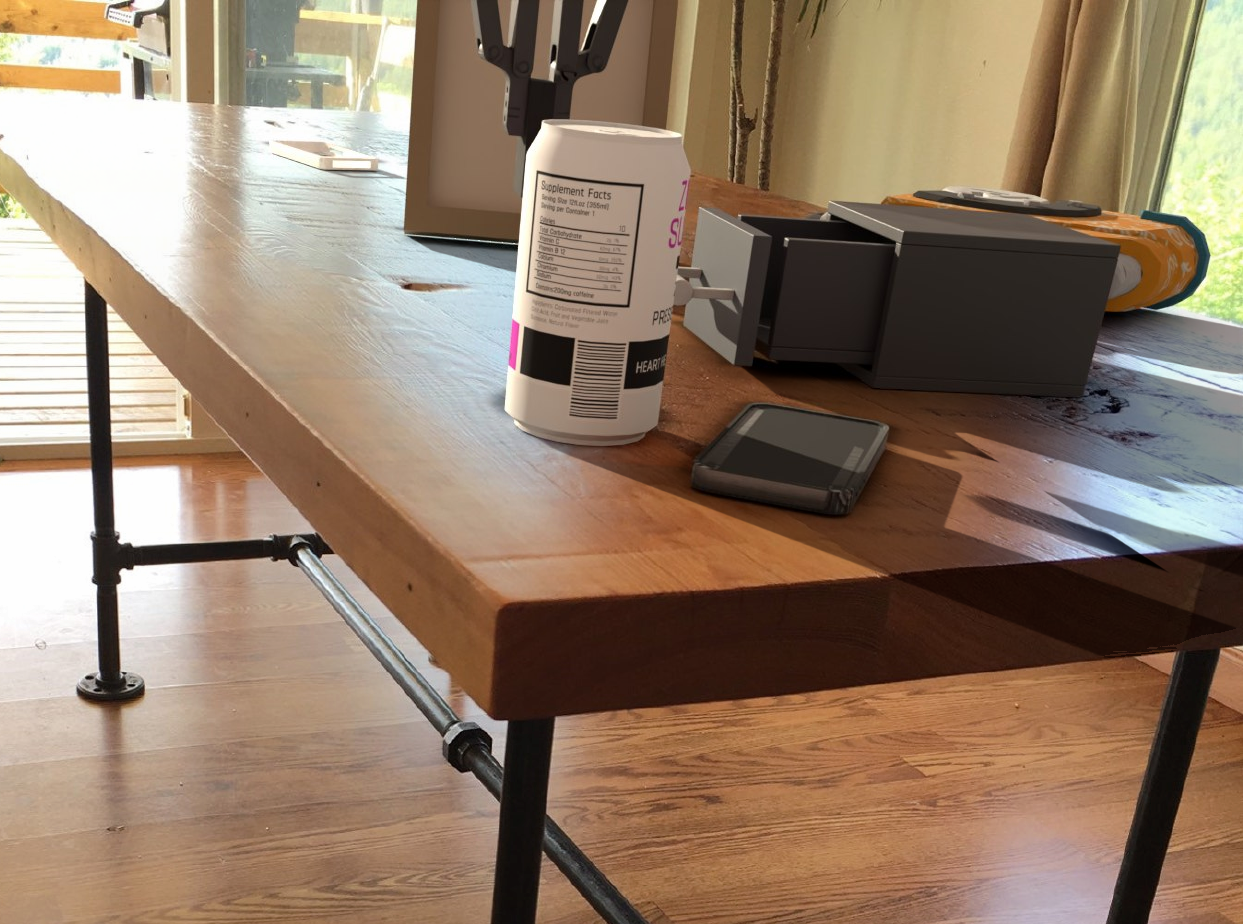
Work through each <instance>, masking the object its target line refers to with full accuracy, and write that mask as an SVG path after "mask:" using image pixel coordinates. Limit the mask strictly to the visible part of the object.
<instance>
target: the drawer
mask: <svg viewBox="0 0 1243 924" xmlns="http://www.w3.org/2000/svg"><path fill="white" fill-rule="evenodd" d="M693 243H694V244H693V251H692V259H691V265H690V266H689V267H688V266H678V273H677V280H676V288H675V296H674V303H673V306H676V307H682V306H684V305H685V310H684V317H683V324H682V325H683V327H685V328H686V329H687V330H689V331H690V332H691V333H692V334H694V335H695V336H696V337H697V338H698V339H700V340H701V341H702V342H704V343H705V344H706V345H707V346H708V347H709V348H711V349H713V350H714V351H715V352H716V353H718V354H719V355H720V356H721V357H723V358H724V359H725V360H726V361H728V362H729V363H730V364H732V365H733V366H734V367H736V366H737V367H753V362H754V356H755V351H756V352H758V353H759V354H761V355H762V356H763V357H765V358H766V359H767V360H769V361H786V362H788V361H789V362H803V363H804V362H806V363H807V362H808V363H823V364H824V363H827V364H836V363H845V364H866V365H873V361H874V356H875V351H876V346H877V341H878V335H879V330H880V325H881V320H882V315H883V309H884V304H885V299H886V294H887V289H888V283H889V278H890V273H891V268H892V263H893V258H894V252H895V247H896V243H898V242H895V241H893V240H891V239H888V238H886V237H884V236H881V235H879V234H877V233H874V232H872V231H870V230H867V229H865V228H863V227H860V226H858V225H855V224H853V223H851V222H848V221H835V220H820V219H805V217H789V216H775V215H760V214H759V215H758V214H744V213H738V214H737V217H735V216H734V215H733V216H732V215H730V214H729V213H727V212H725V211H723V210H721V209H719V208H718V207H709V206H699V207H698V214H697V222H696V229H695V235H694V242H693ZM686 279H688V280H686Z"/></svg>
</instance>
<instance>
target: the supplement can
mask: <svg viewBox="0 0 1243 924" xmlns="http://www.w3.org/2000/svg"><path fill="white" fill-rule="evenodd" d="M691 173H692V170H691V166H690V164H689V161H688V157H687V155H686V152H685V149H684V146H683V134H682V133H679V132H676V131H673V130H669V129H668V130H667V129H666V130H663V129H658V128H651V127H644V126H637V125H629V124H620V123H611V122H599V121H587V120H557V119H551V120H543V121H542V127H541V130H540V131H539V133H538V135H537V136H536V138H535V140H534V142H533V143H532V145H531V147H530V148H529V150H528V152H527V154H526V165H525V177H524V189H523V200H522V212H521V224H520V235H519V244H518V247H517V248H518V249H517V258H516V259H517V260H516V272H515V283H514V295H513V307H512V317H511V318H512V319H511V329H510V330H511V331H510V342H509V355H508V365H507V376H506V388H505V389H506V390H505V402H504V411H505V412H506V413H507V414H508V415H509V416H510V417H512V418H513V420H514V421H513V422H514V425H515V426H516V427H517V428H519V429H520V430H521V431H523V432H525V433H527V434H529V435H532V436H534V437H537V438H541V439H545V440H548V441H553V442H556V443H563V444H570V445H576V446H591V447H593V446H594V447H608V446H610V447H611V446H624V445H628V444H633V443H637V442H639V441H640V440H642V439H644V437H646V433H648V432H649V431H651V430H652V429H654V428H655V427H656V426H658V424H659V418H660V417H659V416H660V410H661V402H662V396H663V395H662V392H663V386H664V378H665V371H666V364H667V363H666V362H667V356H668V348H669V341H670V333H671V325H672V319H673V318H672V317H673V309H674V304H673V303H674V296H675V288H676V280H677V273H678V267H679V264H680V256H681V249H682V241H683V235H684V234H683V233H684V226H685V218H686V211H687V205H688V204H687V203H688V196H689V187H690V180H691Z"/></svg>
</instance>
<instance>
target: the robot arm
mask: <svg viewBox="0 0 1243 924" xmlns="http://www.w3.org/2000/svg"><path fill="white" fill-rule="evenodd" d="M470 2H471V9H472V16H473V23H474V31H475V38H476V45H477V52H478V55H479V56H480V58H481V59H483V60H485V61H487V62H489V63H491V64H493V65H495V66H497V67H499V68H500V69H501V70H502V71H503V72H504V74H505V77H506V86H505V98H504V110H503V121H502V124H503V128H504V132H505V133H506V134H508V135H511V136H518V142H517V153H516V164H515V175H514V186H513V191H514V192H515V193H516V194H518V195H519V196H520V197H523V189H524V177H525V165H526V154H527V152H528V150H529V148H530V147H531V145H532V143H533V142H534V140H535V138H536V136H537V135H538V133H539V131H540V130H541V127H542V121H543V120H551V119H557V120H570V111H571V101H572V92H573V86H574V84H575V82H576V81H577V80H578V79H579V78H581V77H583V76H586V75H590V74H593V73H600V72H602V71H603V70H604V69H605V68H606V66H607V63H608V60H609V57H610V54H611V51H612V48H613V45H614V42H615V39H616V36H617V33H618V30H619V27H620V24H621V21H622V18H623V15H624V12H625V9H626V6H627V3H628V0H597V3H596V6H595V9H594V12H593V15H592V18H591V21H590V24H589V27H588V30H587V33H586V36H585V39H584V42H583V45H582V48H581V51H580V52H579V43H580V33H581V23H582V13H583V3H584V0H555V2H554V13H553V24H552V34H551V45H550V55H549V66H548V69H549V80H548V79H539V78H531V73H532V71H533V66H534V55H535V45H536V34H537V24H538V13H539V3H540V0H511V11H510V22H509V34H508V45H507V46H505V45H503V38H502V30H501V22H500V15H499V7H498V0H470Z"/></svg>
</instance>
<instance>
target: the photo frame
mask: <svg viewBox="0 0 1243 924" xmlns="http://www.w3.org/2000/svg"><path fill="white" fill-rule="evenodd" d="M554 2H555V0H540V3H539V13H538V24H537V34H536V45H535V55H534V66H533V71H532V73H531V78H539V79H548V80H549V69H548V66H549V55H550V45H551V34H552V24H553V13H554ZM596 3H597V0H584V3H583V13H582V23H581V33H580V43H579V52H580V51H581V48H582V45H583V42H584V39H585V36H586V33H587V30H588V27H589V24H590V21H591V18H592V15H593V12H594V9H595V6H596ZM498 7H499V15H500V22H501V30H502V38H503V45H505V46H507V45H508V34H509V22H510V11H511V0H498ZM678 9H679V0H628V3H627V6H626V9H625V12H624V15H623V18H622V21H621V24H620V27H619V30H618V33H617V36H616V39H615V42H614V45H613V48H612V51H611V54H610V57H609V60H608V63H607V66H606V68H605V69H604V70H603V71H602V72H600V73H593V74H590V75H586V76H583V77H581V78H579V79H578V80H577V81H576V82H575V84H574V86H573V92H572V101H571V111H570V120H587V121H599V122H611V123H620V124H629V125H637V126H644V127H651V128H658V129H663V130H667V123H668V112H669V101H670V91H671V82H672V71H673V60H674V49H675V40H676V39H675V38H676V30H677V29H676V28H677V18H678ZM415 14H416V16H415V29H414V30H415V31H414V46H413V47H414V49H413V63H412V64H413V66H412V82H411V84H412V85H411V98H410V99H411V100H410V115H409V131H408V133H409V134H408V150H407V164H406V183H405V199H404V200H405V201H404V218H403V219H404V220H403V234H404V235H410V236H420V237H421V236H422V237H433V238H443V239H444V238H445V239H455V238H456V239H457V240H467V239H468V241H478V240H480V241H479V242H490V241H491V243H492V242H493V243H502V242H503V244H513V243H515V245H519V235H520V224H521V212H522V200H523V197H520V196H519V195H518V194H516V193H515V192H514V191H513V186H514V175H515V164H516V153H517V142H518V136H511V135H508V134H506V133H505V132H504V128H503V124H502V121H503V110H504V98H505V86H506V77H505V74H504V72H503V71H502V70H501V69H500V68H499V67H497V66H495V65H493V64H491V63H489V62H487V61H485V60H483V59H481V58H480V56H479V55H478V52H477V45H476V38H475V31H474V23H473V16H472V9H471V2H470V0H416V13H415ZM456 239H455V240H456Z"/></svg>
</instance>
